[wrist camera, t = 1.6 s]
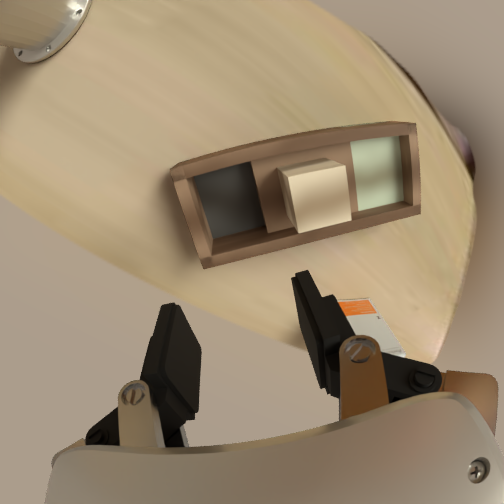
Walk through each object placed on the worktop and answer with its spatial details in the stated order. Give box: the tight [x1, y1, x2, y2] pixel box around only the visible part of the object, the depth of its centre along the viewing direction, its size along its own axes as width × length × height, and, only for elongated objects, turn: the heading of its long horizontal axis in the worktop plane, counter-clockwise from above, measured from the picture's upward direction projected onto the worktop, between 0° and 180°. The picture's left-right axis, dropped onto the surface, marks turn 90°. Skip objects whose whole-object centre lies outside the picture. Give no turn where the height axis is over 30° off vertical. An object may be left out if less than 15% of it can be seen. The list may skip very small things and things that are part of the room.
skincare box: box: [337, 298, 406, 358], centre depth 32 cm, size 6×4×12 cm
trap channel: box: [170, 121, 421, 269], centre depth 26 cm, size 10×25×4 cm, turn 103°
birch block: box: [277, 158, 352, 233], centre depth 24 cm, size 5×5×5 cm
